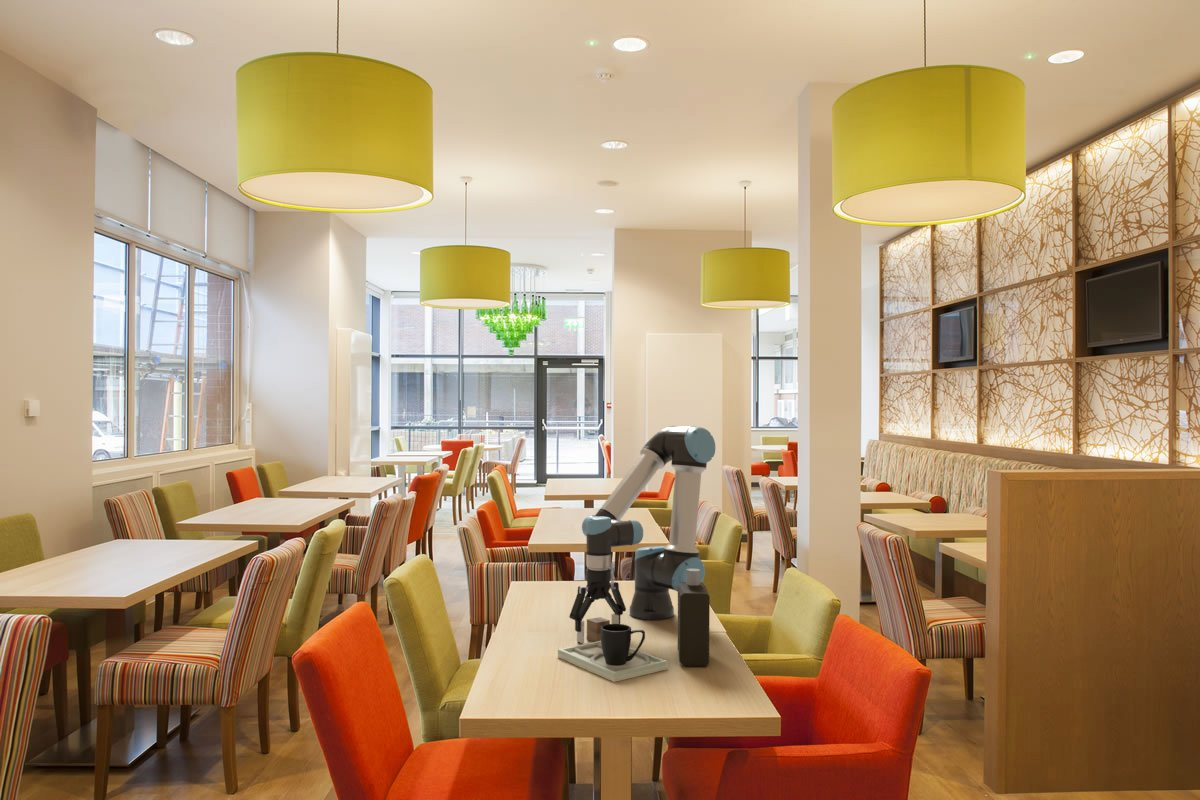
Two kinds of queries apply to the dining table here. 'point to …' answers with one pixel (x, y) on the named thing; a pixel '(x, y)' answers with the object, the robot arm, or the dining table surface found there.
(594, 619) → the block
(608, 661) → the mug
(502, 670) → the dining table surface
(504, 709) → the dining table surface
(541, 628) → the dining table surface
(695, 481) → the robot arm
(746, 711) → the dining table surface
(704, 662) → the bottle
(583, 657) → the tray
